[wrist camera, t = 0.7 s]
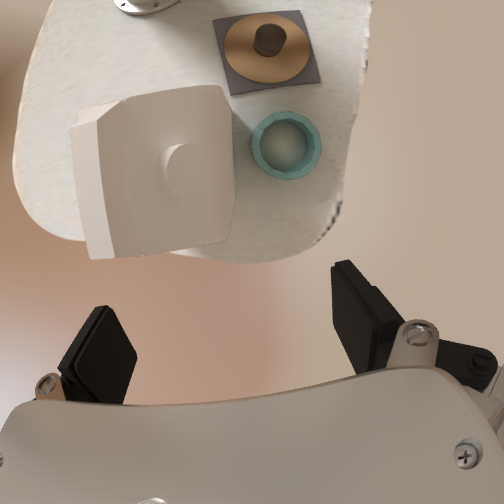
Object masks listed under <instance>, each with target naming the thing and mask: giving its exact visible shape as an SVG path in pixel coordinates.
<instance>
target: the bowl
mask: <svg viewBox="0 0 504 504" xmlns="http://www.w3.org/2000/svg"><path fill="white" fill-rule="evenodd" d="M317 132H318V130H317V129H316V128H315V127H314V125H313V124H312V123H311V122H310V121H309V119H308V118H307V119H306V117H304V116H301V115H298V114H296V113H293V112H282V113H275V114H272V115H270V116H269V117H268V118H266V119H265V120H264V121H263V122H261V123H260V124H259V125H258V126H257V127H256V128H255V129H254V132H253V135H252V138H251V141H250V143H252V144H250V147H251V152H252V157H253V160H254V161H255V162H256V163H257V164H258V165H259V166H260V167H261V168H262V169H263V170H264V171H265V172H266V173H267V174H268V175H271V176H274V177H277V178H280V179H283V180H290V179H295V178H301V177H302V176H303V177H304V176H305V175H306V174H307V173H308V172H309V171H311V170H312V169H313V168H314V167H315V165H317V162H318V159H319V157H320V154H321V151H322V150H321V149H322V146H321V141H320V135H319V132H318V133H317Z"/></svg>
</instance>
